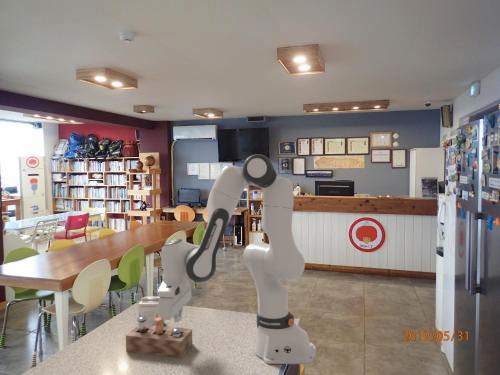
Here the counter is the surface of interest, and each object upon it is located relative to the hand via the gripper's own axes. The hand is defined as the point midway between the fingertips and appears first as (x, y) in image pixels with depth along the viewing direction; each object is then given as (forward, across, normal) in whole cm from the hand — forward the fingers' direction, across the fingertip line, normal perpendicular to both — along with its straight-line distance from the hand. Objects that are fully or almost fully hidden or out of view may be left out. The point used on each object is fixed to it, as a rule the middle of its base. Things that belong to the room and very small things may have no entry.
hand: (178, 320), depth 134 cm
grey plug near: (+10, 0, -1) cm, 10 cm away
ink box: (+12, -16, -20) cm, 28 cm away
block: (+11, 0, -8) cm, 14 cm away
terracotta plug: (+7, 0, -8) cm, 10 cm away
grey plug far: (+6, 0, -15) cm, 16 cm away
